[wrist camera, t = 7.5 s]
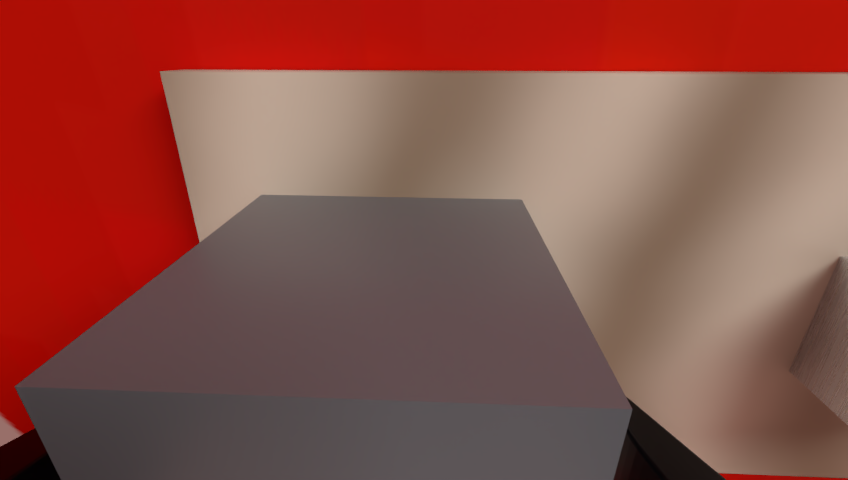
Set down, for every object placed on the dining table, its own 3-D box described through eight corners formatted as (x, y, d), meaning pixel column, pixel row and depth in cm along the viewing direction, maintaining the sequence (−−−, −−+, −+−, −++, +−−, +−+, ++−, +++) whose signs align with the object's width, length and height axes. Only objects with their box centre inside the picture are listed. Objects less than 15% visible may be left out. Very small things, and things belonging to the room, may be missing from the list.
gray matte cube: (521, 199, 10) (632, 409, 4) (500, 400, 13) (551, 709, 7) (261, 194, 10) (14, 386, 4) (292, 393, 13) (162, 684, 7)
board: (1241, 74, 9) (1328, 75, 8) (962, 456, 14) (997, 484, 13) (185, 69, 10) (159, 71, 9) (260, 430, 15) (248, 454, 14)
